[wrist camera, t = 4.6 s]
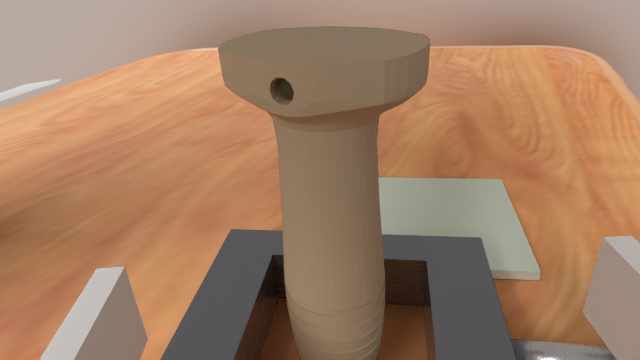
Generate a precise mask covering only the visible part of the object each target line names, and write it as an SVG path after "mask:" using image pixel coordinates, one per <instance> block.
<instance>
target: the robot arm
mask: <svg viewBox="0 0 640 360" xmlns="http://www.w3.org/2000/svg"><path fill="white" fill-rule="evenodd" d="M582 313H583V314H584V316H585V317H586V318H587V320H588V321H589V322H590V324H591V325H592V327H593V328H594V329H595V331H596V332H597V333H598V335H599V336H600V338H601V339H602V340H603V342H604V343H605V344H606V346H607V347H608V349H609V350H610V351H611V353H612V354H613V355H614V357H615V358H616V359H617V360H640V243H639V242H638V241H637V240H636V239H635V238H634V237H633V236H615V237H603V240H602V244H601V248H600V251H599V255H598V258H597V262H596V265H595V269H594V273H593V276H592V280H591V283H590V287H589V290H588V294H587V298H586V301H585V305H584V308H583V312H582ZM147 340H148V338H147V335H146V332H145V329H144V326H143V322H142V319H141V316H140V313H139V310H138V307H137V304H136V301H135V297H134V294H133V291H132V288H131V285H130V282H129V279H128V276H127V273H126V269H125V267H111V268H97V269H96V270H95V272H94V274H93V275H92V277H91V278H90V280H89V282H88V283H87V285H86V286H85V288H84V290H83V291H82V293H81V294H80V296H79V298H78V299H77V301H76V302H75V304H74V306H73V307H72V309H71V310H70V312H69V314H68V315H67V317H66V318H65V320H64V321H63V323H62V325H61V326H60V328H59V329H58V331H57V333H56V334H55V336H54V337H53V339H52V341H51V342H50V344H49V345H48V347H47V349H46V350H45V352H44V353H43V355H42V357H41V358H40V360H140V358H141V355H142V353H143V350H144V348H145V345H146V343H147Z"/></svg>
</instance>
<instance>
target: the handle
mask: <svg viewBox="0 0 640 360" xmlns="http://www.w3.org/2000/svg"><path fill="white" fill-rule="evenodd" d="M218 51H219V57H220V63H221V69H222V75H223V79H224V83H225V86H226V87H227V88H228V89H230V90H231V91H232V92H234V93H235V94H237V95H238V96H240V97H241V98H243V99H245V100H246V101H248V102H250V103H252V104H254V105H255V106H257V107H259V108H261V109H263V110H265V111H267V112H268V113H269V114H270V116H271V117H272V118H273V121H274V127H275V132H276V138H277V144H278V154H279V171H280V188H281V205H282V227H283V254H284V280H285V290H286V297H287V306H288V313H289V318H290V322H291V327H292V332H293V336H294V340H295V344H296V347H297V351H298V354H299V356H300V360H378V352H379V348H380V343H381V337H382V330H383V322H384V312H385V269H384V256H383V242H382V228H381V214H380V199H379V179H378V159H377V134H378V124H379V115H380V114H381V113H383V112H385V111H387V110H390V109H392V108H394V107H396V106H398V105H400V104H402V103H404V102H405V101H407V100H408V99H409V98H411V97H412V96H414V95H415V94H416V93H417V92H418V91H420V90H421V89H422V88H423V86H424V85H425V83H426V80H427V74H428V66H429V51H430V39H429V38H428V37H427V36H425V35H424V34H417V33H411V32H405V31H399V30H392V29H383V28H367V27H333V26H328V27H327V26H325V27H301V28H282V29H272V30H266V31H260V32H255V33H251V34H247V35H243V36H240V37H237V38H234V39H231V40H229V41H227V42H225V43H223V44H221V45H220V46H219V48H218Z"/></svg>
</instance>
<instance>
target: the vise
mask: <svg viewBox="0 0 640 360" xmlns="http://www.w3.org/2000/svg"><path fill="white" fill-rule="evenodd" d="M382 242H383V256H384V269H385V303H388V304H407V305H424V315H425V327H426V340H427V353H428V360H617V359H616V358H615V357H614V355H613V354H612V353H611V351H610V350H609V349H608V347H607V346H606V345H597V344H581V343H565V342H550V341H534V340H518V339H510V337H509V334H508V330H507V327H506V323H505V320H504V316H503V313H502V309H501V306H500V302H499V299H498V295H497V292H496V288H495V284H494V281H493V277H492V274H491V270H490V267H489V263H488V260H487V256H486V253H485V249H484V246H483V242H482V239H481V237H451V236H421V235H390V234H382ZM278 297H279V298H287V297H286V290H285V280H284V254H283V231H268V230H238V229H231V230H230V232H229V234H228V236H227V238H226V240H225V241H224V243H223V245H222V247H221V249H220V251H219V253H218V254H217V256H216V258H215V260H214V262H213V264H212V265H211V267H210V269H209V271H208V273H207V275H206V277H205V278H204V280H203V282H202V284H201V286H200V288H199V289H198V291H197V293H196V295H195V297H194V299H193V301H192V302H191V304H190V306H189V308H188V310H187V312H186V313H185V315H184V317H183V319H182V321H181V323H180V324H179V326H178V328H177V330H176V332H175V334H174V336H173V337H172V339H171V341H170V343H169V345H168V347H167V348H166V350H165V352H164V354H163V356H162V358H161V360H259V357H260V354H261V351H262V348H263V344H264V341H265V338H266V335H267V332H268V328H269V325H270V322H271V319H272V316H273V313H274V309H275V306H276V303H277V300H278Z"/></svg>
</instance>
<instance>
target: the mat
mask: <svg viewBox="0 0 640 360" xmlns="http://www.w3.org/2000/svg"><path fill="white" fill-rule="evenodd" d="M378 179H379V199H380V214H381V228H382V234H390V235H421V236H451V237H481V239H482V242H483V246H484V249H485V253H486V256H487V260H488V263H489V267H490V270H491V274H492V277H493V278H496V279H519V280H540V275H541V270H540V268H539V266H538V263H537V261H536V259H535V256H534V254H533V252H532V249H531V247H530V245H529V242H528V240H527V238H526V235H525V233H524V231H523V228H522V226H521V224H520V221H519V219H518V217H517V214H516V212H515V210H514V207H513V205H512V203H511V200H510V198H509V196H508V193H507V191H506V189H505V186H504V184H503V182H502V179H466V178H397V177H378Z"/></svg>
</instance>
